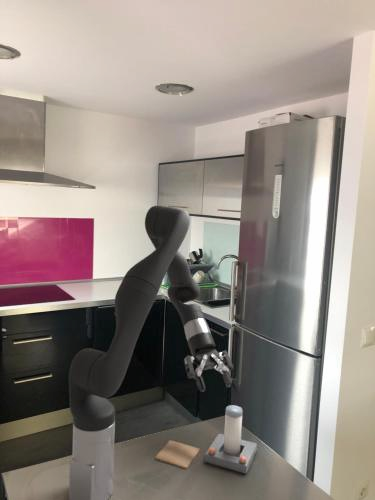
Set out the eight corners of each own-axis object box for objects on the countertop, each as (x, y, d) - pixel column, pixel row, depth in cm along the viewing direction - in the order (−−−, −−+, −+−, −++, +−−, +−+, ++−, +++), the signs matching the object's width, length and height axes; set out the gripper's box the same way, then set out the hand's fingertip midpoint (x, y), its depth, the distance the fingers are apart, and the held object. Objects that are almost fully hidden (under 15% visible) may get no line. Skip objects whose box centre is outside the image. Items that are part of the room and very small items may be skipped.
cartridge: (237, 462, 105) (240, 414, 104) (220, 457, 107) (223, 410, 106) (241, 453, 109) (244, 407, 108) (226, 449, 111) (228, 403, 110)
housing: (246, 476, 101) (246, 462, 101) (204, 463, 105) (205, 450, 105) (256, 452, 111) (257, 440, 111) (218, 442, 115) (219, 430, 115)
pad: (186, 471, 102) (186, 467, 102) (154, 461, 105) (155, 457, 105) (199, 452, 110) (199, 448, 110) (169, 443, 113) (169, 440, 113)
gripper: (182, 333, 118) (199, 387, 109) (224, 328, 124) (243, 379, 115) (174, 345, 123) (189, 397, 114) (214, 340, 129) (232, 389, 120)
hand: (216, 388), depth 114 cm, fingers open, 8 cm apart
